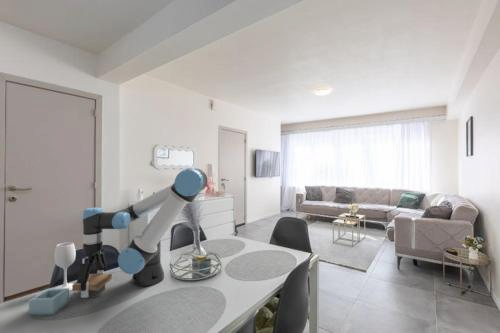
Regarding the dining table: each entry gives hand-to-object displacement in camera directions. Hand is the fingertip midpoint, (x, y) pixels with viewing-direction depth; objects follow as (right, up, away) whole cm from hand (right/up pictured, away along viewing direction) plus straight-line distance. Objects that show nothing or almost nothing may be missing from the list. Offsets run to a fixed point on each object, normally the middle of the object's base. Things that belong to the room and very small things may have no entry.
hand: (93, 290), depth 113 cm
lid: (0, +3, 0) cm, 3 cm away
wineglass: (-16, -2, +5) cm, 17 cm away
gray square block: (0, -1, 0) cm, 1 cm away
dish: (-10, -1, -12) cm, 16 cm away
